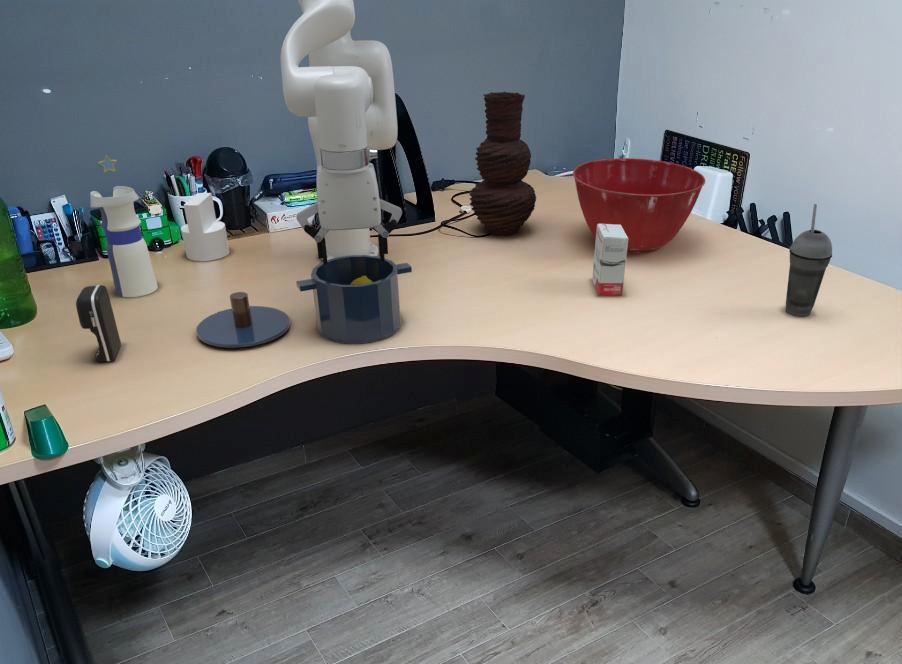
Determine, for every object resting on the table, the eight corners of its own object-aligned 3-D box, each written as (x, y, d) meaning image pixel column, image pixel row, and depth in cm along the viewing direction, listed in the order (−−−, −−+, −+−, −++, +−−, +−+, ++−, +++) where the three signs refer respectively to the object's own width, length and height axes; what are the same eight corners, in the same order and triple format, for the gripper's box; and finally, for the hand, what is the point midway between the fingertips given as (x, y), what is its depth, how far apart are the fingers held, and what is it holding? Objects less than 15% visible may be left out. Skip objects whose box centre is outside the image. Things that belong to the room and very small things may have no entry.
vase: (456, 232, 186) (453, 96, 171) (493, 216, 197) (494, 86, 182) (511, 245, 179) (513, 104, 163) (547, 227, 190) (552, 93, 174)
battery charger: (98, 345, 136) (80, 282, 130) (122, 343, 136) (105, 281, 130) (89, 365, 130) (70, 299, 124) (114, 362, 130) (96, 297, 125)
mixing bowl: (713, 236, 185) (724, 168, 177) (667, 275, 164) (676, 200, 156) (602, 215, 198) (607, 151, 190) (546, 249, 177) (549, 179, 169)
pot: (293, 320, 145) (286, 265, 139) (397, 300, 152) (394, 248, 147) (316, 353, 133) (309, 295, 128) (427, 330, 141) (425, 274, 136)
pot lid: (190, 321, 144) (183, 287, 141) (278, 305, 150) (273, 272, 147) (206, 358, 132) (198, 321, 128) (300, 339, 138) (295, 303, 135)
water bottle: (104, 290, 156) (70, 160, 143) (146, 278, 162) (116, 151, 149) (124, 301, 151) (90, 168, 139) (166, 288, 157) (137, 159, 144)
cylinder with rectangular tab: (222, 261, 170) (212, 205, 164) (180, 260, 170) (168, 205, 164) (234, 246, 178) (225, 193, 171) (194, 246, 178) (184, 192, 172)
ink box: (623, 296, 155) (629, 237, 149) (597, 296, 154) (602, 237, 148) (615, 279, 162) (621, 222, 156) (591, 279, 162) (595, 222, 156)
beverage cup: (798, 323, 144) (821, 214, 134) (768, 308, 150) (789, 203, 140) (827, 315, 147) (852, 208, 137) (797, 301, 153) (819, 197, 142)
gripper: (396, 150, 132) (402, 248, 141) (289, 155, 129) (302, 255, 138) (401, 161, 126) (406, 264, 135) (289, 167, 123) (302, 271, 132)
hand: (353, 259), depth 137 cm, fingers open, 9 cm apart
